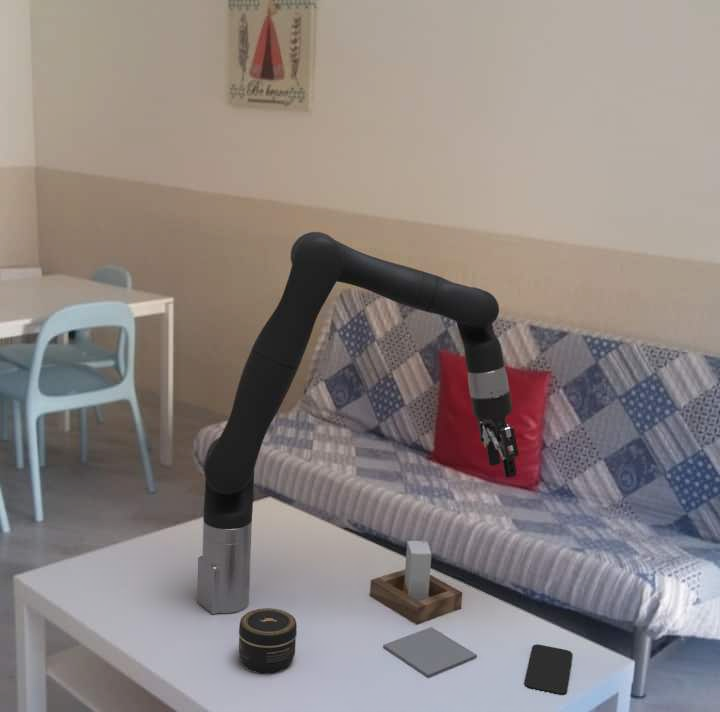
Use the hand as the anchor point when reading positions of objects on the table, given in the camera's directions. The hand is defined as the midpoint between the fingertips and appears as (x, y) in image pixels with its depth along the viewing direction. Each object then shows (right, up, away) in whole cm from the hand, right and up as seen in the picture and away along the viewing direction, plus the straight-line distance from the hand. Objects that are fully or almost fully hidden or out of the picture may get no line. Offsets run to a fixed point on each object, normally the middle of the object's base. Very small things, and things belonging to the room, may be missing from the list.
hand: (502, 470), depth 188 cm
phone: (+6, -34, -16) cm, 38 cm away
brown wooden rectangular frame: (-17, -27, +6) cm, 32 cm away
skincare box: (-17, -27, +6) cm, 33 cm away
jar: (-44, -31, -19) cm, 57 cm away
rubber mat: (-15, -31, -13) cm, 37 cm away
